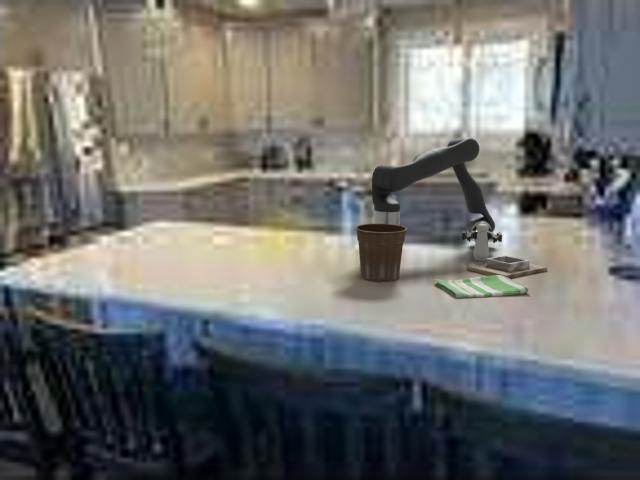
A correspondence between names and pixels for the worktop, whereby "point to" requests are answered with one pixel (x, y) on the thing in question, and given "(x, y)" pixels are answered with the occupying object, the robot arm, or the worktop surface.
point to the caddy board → (507, 267)
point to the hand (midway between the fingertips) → (482, 239)
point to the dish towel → (482, 287)
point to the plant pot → (380, 251)
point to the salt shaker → (481, 243)
